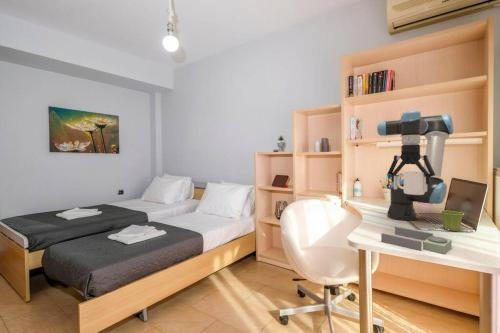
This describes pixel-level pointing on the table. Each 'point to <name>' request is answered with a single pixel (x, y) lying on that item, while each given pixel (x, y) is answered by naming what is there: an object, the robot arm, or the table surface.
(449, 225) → the plant pot
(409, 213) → the robot arm
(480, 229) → the table surface
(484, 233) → the table surface
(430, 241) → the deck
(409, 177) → the cup
